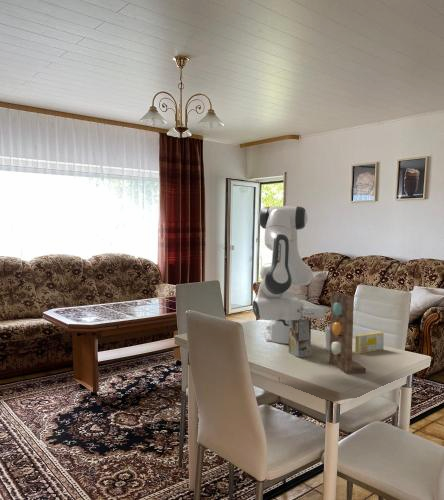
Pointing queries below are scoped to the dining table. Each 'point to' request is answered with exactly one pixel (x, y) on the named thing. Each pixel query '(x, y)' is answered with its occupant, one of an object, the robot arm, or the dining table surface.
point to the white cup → (327, 337)
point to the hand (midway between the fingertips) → (326, 308)
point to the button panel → (344, 335)
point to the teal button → (338, 308)
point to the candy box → (369, 342)
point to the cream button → (336, 347)
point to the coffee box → (300, 337)
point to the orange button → (337, 328)
